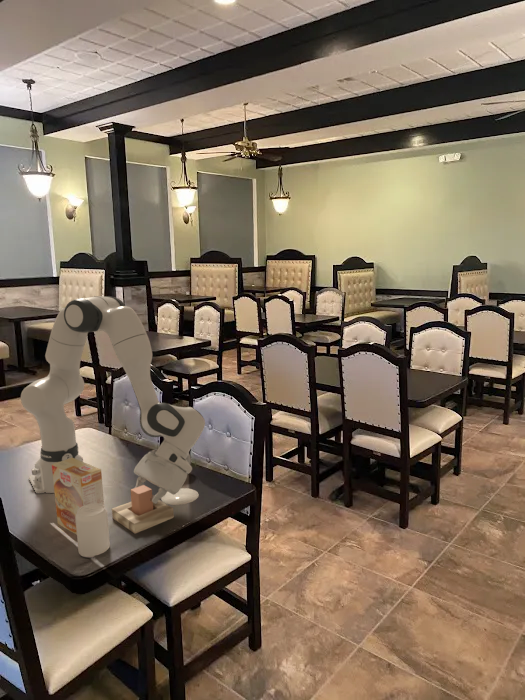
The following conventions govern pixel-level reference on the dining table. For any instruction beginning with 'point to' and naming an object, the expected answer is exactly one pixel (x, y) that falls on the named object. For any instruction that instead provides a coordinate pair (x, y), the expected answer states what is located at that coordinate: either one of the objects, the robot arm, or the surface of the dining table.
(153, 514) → the holder
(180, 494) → the cream oval shape
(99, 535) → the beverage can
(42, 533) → the dining table surface
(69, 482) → the coffeecake box
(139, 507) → the block
